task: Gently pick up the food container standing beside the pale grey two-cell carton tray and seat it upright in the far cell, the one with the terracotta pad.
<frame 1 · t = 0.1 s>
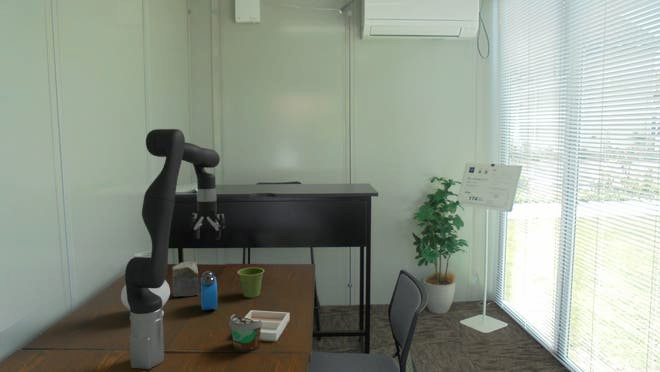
hand: (207, 238, 178), 29 cm above the table, tool pointing down, fingers open, 8 cm apart
alarm clock: (208, 309, 180), on the table
decorative vase: (146, 316, 172), on the table
geological specimen: (185, 296, 195), on the table
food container: (242, 349, 145), on the table
plant pot: (251, 295, 196), on the table
carton tray: (262, 328, 161), on the table
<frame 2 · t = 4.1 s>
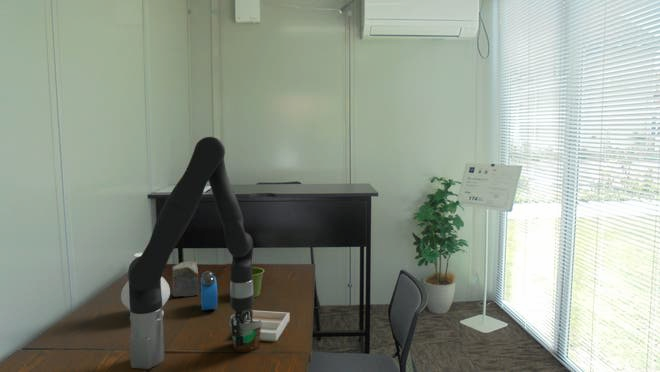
hand: (243, 341, 146), 2 cm above the table, tool pointing down, fingers open, 6 cm apart
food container: (242, 349, 145), on the table, touching gripper
everything else where it was.
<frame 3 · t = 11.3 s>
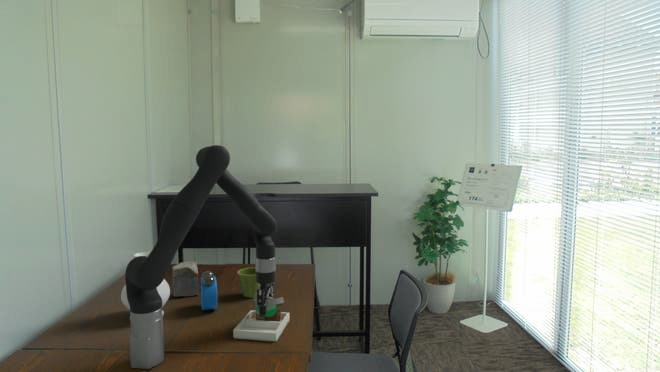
hand: (266, 310, 165), 5 cm above the table, tool pointing down, fingers open, 8 cm apart
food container: (264, 323, 163), point 1 cm above the table, touching carton tray, gripper
everything else where it was.
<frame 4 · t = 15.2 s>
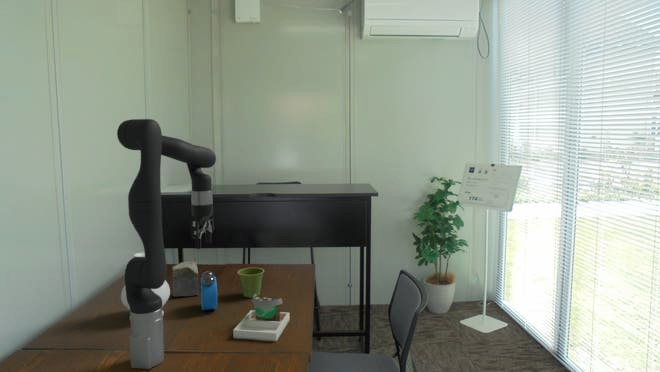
hand: (203, 245, 162), 30 cm above the table, tool pointing down, fingers open, 8 cm apart
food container: (264, 324, 163), point 1 cm above the table, touching carton tray
everything else where it was.
at the end: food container 1.8 cm from the target spot on the carton tray, point 0.5 cm above the carton tray's base; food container tilted 0°; the gripper is holding nothing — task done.
